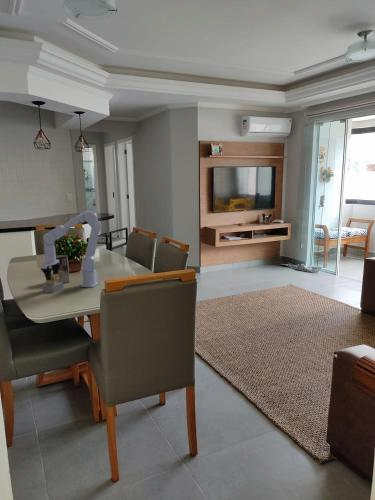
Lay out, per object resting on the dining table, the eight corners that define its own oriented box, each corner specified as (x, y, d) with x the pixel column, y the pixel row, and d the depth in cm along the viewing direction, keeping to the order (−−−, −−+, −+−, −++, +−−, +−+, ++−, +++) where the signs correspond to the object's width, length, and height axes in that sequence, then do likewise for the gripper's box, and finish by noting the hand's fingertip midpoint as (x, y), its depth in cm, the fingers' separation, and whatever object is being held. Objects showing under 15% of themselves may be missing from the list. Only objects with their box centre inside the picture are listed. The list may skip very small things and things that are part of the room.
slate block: (52, 287, 210) (52, 281, 210) (63, 289, 208) (63, 282, 207) (42, 291, 203) (42, 285, 202) (54, 293, 200) (53, 286, 199)
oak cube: (50, 282, 208) (50, 273, 207) (59, 282, 207) (58, 274, 206) (46, 284, 203) (45, 276, 202) (54, 284, 202) (53, 276, 201)
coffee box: (69, 279, 227) (67, 254, 224) (69, 282, 221) (67, 256, 218) (54, 280, 224) (52, 255, 221) (53, 283, 218) (51, 257, 215)
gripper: (50, 252, 209) (52, 274, 212) (36, 257, 195) (38, 281, 198) (61, 252, 208) (63, 275, 210) (48, 257, 194) (50, 281, 196)
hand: (52, 278), depth 204 cm, fingers open, 7 cm apart
